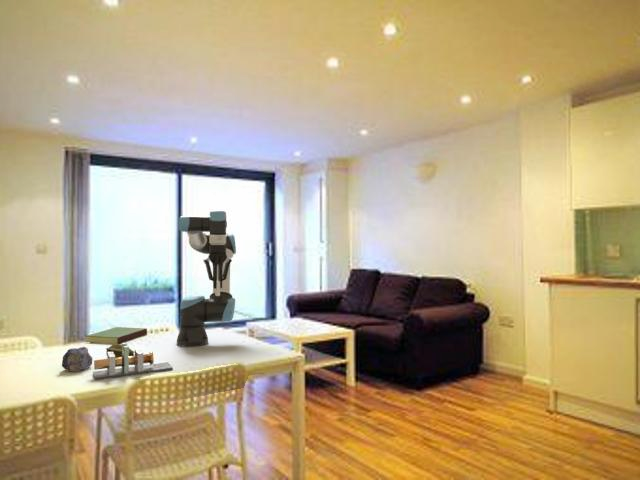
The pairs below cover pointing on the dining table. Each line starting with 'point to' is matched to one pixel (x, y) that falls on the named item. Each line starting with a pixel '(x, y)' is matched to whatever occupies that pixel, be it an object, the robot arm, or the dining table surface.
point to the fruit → (118, 350)
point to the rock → (77, 360)
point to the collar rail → (127, 370)
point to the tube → (120, 361)
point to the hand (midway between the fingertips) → (217, 295)
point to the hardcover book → (116, 335)
